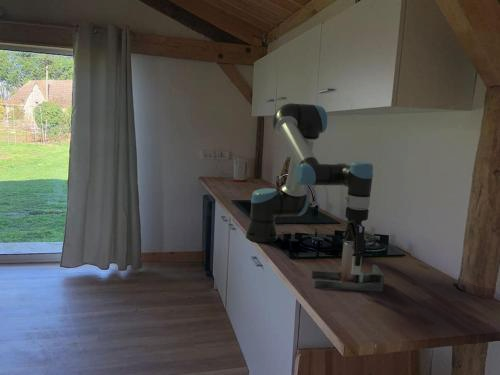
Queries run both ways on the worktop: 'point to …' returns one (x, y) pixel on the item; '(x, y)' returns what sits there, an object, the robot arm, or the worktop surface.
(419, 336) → the worktop surface
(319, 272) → the lane
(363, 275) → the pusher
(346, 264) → the beverage can
